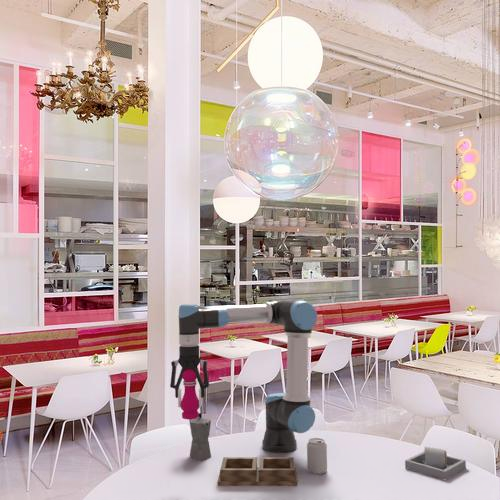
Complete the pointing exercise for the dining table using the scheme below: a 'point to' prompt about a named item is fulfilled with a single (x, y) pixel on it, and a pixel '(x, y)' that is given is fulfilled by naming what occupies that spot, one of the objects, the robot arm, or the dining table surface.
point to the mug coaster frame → (416, 465)
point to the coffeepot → (200, 438)
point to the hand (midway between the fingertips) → (190, 406)
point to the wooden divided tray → (257, 472)
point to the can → (317, 456)
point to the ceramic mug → (435, 457)
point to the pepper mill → (189, 396)
